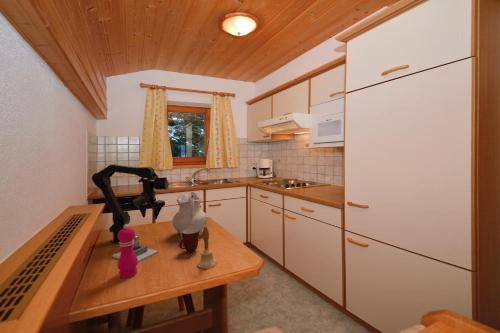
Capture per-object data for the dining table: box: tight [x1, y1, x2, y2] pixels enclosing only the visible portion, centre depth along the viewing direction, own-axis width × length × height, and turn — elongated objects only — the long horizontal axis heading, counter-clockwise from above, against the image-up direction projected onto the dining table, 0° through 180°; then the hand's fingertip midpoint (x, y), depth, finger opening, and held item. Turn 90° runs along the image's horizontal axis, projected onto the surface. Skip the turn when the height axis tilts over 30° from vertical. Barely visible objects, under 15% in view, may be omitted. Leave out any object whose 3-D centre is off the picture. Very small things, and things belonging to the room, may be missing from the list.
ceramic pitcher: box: [172, 191, 208, 238], centre depth 135 cm, size 22×20×25 cm
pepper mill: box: [116, 224, 139, 279], centre depth 92 cm, size 7×7×20 cm
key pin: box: [133, 234, 140, 250], centre depth 110 cm, size 3×3×8 cm
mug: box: [178, 228, 200, 254], centre depth 112 cm, size 10×8×10 cm
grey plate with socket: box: [112, 244, 159, 264], centre depth 110 cm, size 16×12×4 cm
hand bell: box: [196, 226, 218, 270], centre depth 100 cm, size 8×8×16 cm
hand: (149, 218), depth 129 cm, fingers open, 9 cm apart
